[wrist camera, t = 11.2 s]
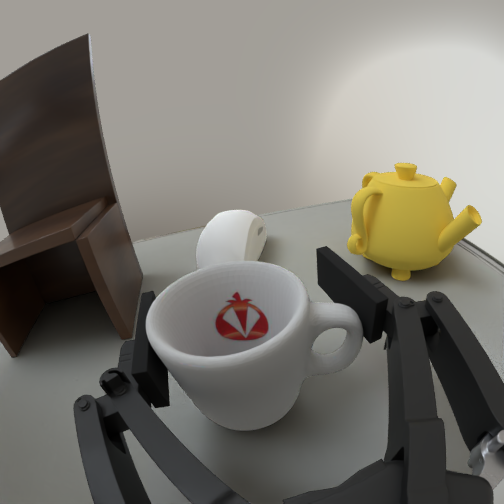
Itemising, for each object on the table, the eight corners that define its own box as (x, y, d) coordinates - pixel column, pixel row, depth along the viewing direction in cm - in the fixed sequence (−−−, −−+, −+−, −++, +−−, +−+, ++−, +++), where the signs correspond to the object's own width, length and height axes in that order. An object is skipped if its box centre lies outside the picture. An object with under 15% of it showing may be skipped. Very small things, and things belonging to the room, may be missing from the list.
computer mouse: (270, 236, 40) (264, 195, 38) (248, 286, 29) (237, 232, 27) (229, 238, 42) (221, 199, 39) (194, 286, 31) (180, 236, 28)
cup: (342, 343, 19) (347, 247, 16) (364, 435, 12) (396, 343, 8) (202, 354, 20) (171, 266, 17) (180, 442, 13) (118, 360, 10)
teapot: (466, 300, 20) (488, 186, 15) (340, 285, 27) (337, 174, 22) (449, 238, 31) (454, 159, 26) (360, 230, 37) (358, 153, 33)
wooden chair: (132, 337, 24) (53, -5, 9) (11, 357, 21) (-69, 90, 6) (143, 274, 36) (90, 35, 21) (43, 301, 33) (-14, 93, 18)
